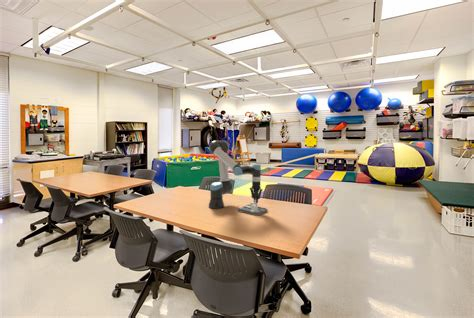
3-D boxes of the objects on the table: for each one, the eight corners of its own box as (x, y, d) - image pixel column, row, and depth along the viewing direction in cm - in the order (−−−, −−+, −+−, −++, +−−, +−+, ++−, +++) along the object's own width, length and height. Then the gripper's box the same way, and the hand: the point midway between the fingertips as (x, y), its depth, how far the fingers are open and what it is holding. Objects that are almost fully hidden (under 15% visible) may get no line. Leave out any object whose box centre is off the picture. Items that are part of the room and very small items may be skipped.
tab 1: (250, 207, 229) (250, 202, 228) (252, 206, 232) (252, 201, 232) (253, 208, 226) (254, 203, 226) (256, 207, 230) (256, 202, 229)
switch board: (237, 211, 226) (237, 208, 225) (247, 207, 239) (247, 204, 238) (258, 215, 213) (258, 212, 213) (267, 211, 226) (267, 208, 225)
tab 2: (251, 210, 220) (251, 205, 219) (253, 209, 223) (253, 204, 222) (255, 211, 217) (255, 206, 217) (257, 210, 221) (257, 205, 220)
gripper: (248, 180, 226) (247, 205, 228) (260, 182, 218) (259, 208, 221) (252, 179, 232) (252, 203, 234) (264, 181, 224) (263, 206, 227)
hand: (255, 206), depth 228 cm, fingers closed
